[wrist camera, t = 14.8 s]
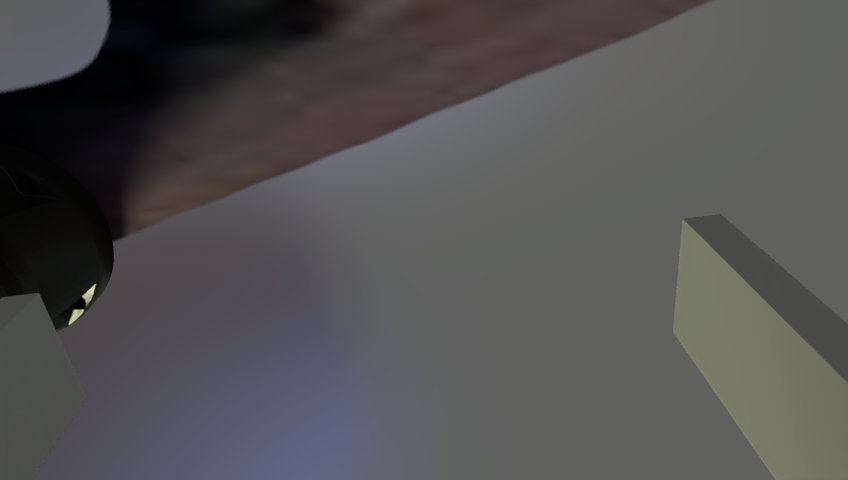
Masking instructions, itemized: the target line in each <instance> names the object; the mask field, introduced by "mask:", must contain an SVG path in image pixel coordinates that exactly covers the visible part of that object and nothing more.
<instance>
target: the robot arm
mask: <svg viewBox="0 0 848 480" xmlns="http://www.w3.org/2000/svg"><path fill="white" fill-rule="evenodd" d="M113 262H114V251H113V243H112V238H111V234H110V231H109V228H108V225H107V223H106V220H105V218H104V216H103V214H102V213H101V211H100V209H99V208H98V206H97V204H96V203H95V202H94V200H93V199H92V198H91V196H90V195H89V194H88V193H87V192H86V190H85V189H84V188H83V187H82V186H81V185H80V184H79V183H78V182H77V181H76V180H75V179H73V178H72V177H71V176H70V175H69V174H67V173H66V172H65V171H64V170H62V169H61V168H59V167H58V166H56V165H55V164H53V163H52V162H50V161H48V160H46V159H45V158H43V157H41V156H39V155H37V154H34V153H32V152H30V151H27V150H25V149H22V148H19V147H16V146H12V145H8V144H4V143H0V480H32V478H33V477H34V475H35V474H36V472H37V471H38V469H39V468H40V466H41V465H42V463H43V461H44V460H45V459H46V457H47V456H48V454H49V453H50V451H51V450H52V448H53V447H54V445H55V444H56V443H57V441H58V440H59V438H60V437H61V435H62V434H63V432H64V431H65V429H66V428H67V426H68V425H69V423H70V422H71V420H72V419H73V417H74V416H75V414H76V413H77V411H78V410H79V408H80V407H81V405H82V404H83V403H84V401H85V399H86V395H85V393H84V391H83V389H82V387H81V384H80V382H79V380H78V378H77V376H76V373H75V371H74V369H73V367H72V365H71V362H70V360H69V358H68V356H67V354H66V351H65V349H64V347H63V345H62V343H61V341H60V338H59V336H58V334H57V332H58V331H59V330H62V329H64V328H66V327H68V326H69V325H71V324H72V323H74V322H75V321H77V320H78V319H79V318H80V317H81V316H83V315H84V314H85V313H86V312H87V311H88V310H89V308H90V307H91V306H92V305H93V304H94V302H95V301H96V300H97V299H98V298H99V296H100V295H101V294H102V292H103V291H104V290H105V288H106V286H107V284H108V282H109V279H110V276H111V273H112V269H113ZM673 333H674V334H675V335H676V337H677V338H678V340H679V341H680V343H681V344H682V346H683V347H684V348H685V350H686V351H687V353H688V354H689V356H690V357H691V359H692V360H693V361H694V363H695V364H696V366H697V367H698V369H699V370H700V372H701V373H702V374H703V376H704V377H705V379H706V380H707V381H708V383H709V384H710V386H711V387H712V389H713V390H714V392H715V393H716V394H717V396H718V397H719V399H720V400H721V402H722V403H723V405H724V406H725V407H726V409H727V410H728V412H729V413H730V415H731V416H732V418H733V419H734V421H735V422H736V423H737V425H738V426H739V428H740V429H741V431H742V432H743V434H744V435H745V436H746V438H747V439H748V441H749V442H750V444H751V445H752V446H753V448H754V449H755V451H756V452H757V453H758V455H759V457H760V458H761V459H762V461H763V462H764V464H765V465H766V467H767V468H768V470H769V471H770V472H771V474H772V475H773V477H774V478H775V479H776V480H848V324H847V323H846V322H845V321H844V320H843V319H841V318H840V317H839V316H838V315H837V314H836V313H835V312H833V311H832V310H831V309H830V308H829V307H828V306H826V305H825V304H824V303H823V302H822V301H821V300H820V299H818V298H817V297H816V296H815V295H814V294H812V293H811V292H810V291H809V290H808V289H807V288H805V287H804V286H803V285H802V284H801V283H800V282H799V281H797V280H796V279H795V278H794V277H793V276H792V275H791V274H789V273H788V272H787V271H786V270H785V269H783V268H782V267H781V266H780V265H779V264H778V263H776V262H775V261H774V260H773V259H772V258H771V257H770V256H769V255H767V254H766V253H765V252H764V251H763V250H762V249H760V248H759V247H758V246H757V245H756V244H755V243H753V242H752V241H751V240H750V239H749V238H748V237H747V236H745V235H744V234H743V233H742V232H741V231H739V230H738V229H737V228H736V227H735V226H734V225H733V224H731V223H730V222H729V221H728V220H727V219H726V218H724V217H723V216H722V215H721V214H720V215H711V216H702V217H694V218H685V219H683V222H682V232H681V244H680V256H679V268H678V280H677V292H676V304H675V315H674V326H673Z"/></svg>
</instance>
